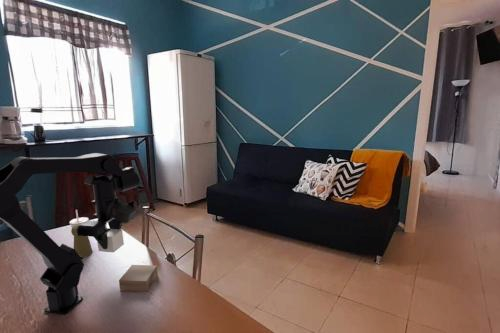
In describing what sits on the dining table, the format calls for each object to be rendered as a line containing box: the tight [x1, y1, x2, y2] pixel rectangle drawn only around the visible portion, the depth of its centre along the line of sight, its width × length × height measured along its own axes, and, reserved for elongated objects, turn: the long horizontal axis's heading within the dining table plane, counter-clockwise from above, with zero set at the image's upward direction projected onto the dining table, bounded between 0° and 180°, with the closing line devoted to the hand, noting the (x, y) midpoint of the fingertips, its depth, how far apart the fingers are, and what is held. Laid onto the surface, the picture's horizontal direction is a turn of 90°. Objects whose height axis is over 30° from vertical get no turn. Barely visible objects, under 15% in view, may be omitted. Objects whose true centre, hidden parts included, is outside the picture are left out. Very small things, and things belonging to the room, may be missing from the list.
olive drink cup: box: [70, 224, 94, 258], centre depth 102 cm, size 6×6×11 cm
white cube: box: [97, 229, 125, 253], centre depth 86 cm, size 5×5×5 cm
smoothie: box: [69, 209, 90, 228], centre depth 109 cm, size 6×6×14 cm
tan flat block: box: [118, 264, 159, 294], centre depth 85 cm, size 8×8×4 cm
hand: (111, 244), depth 87 cm, fingers closed on white cube, 5 cm apart
